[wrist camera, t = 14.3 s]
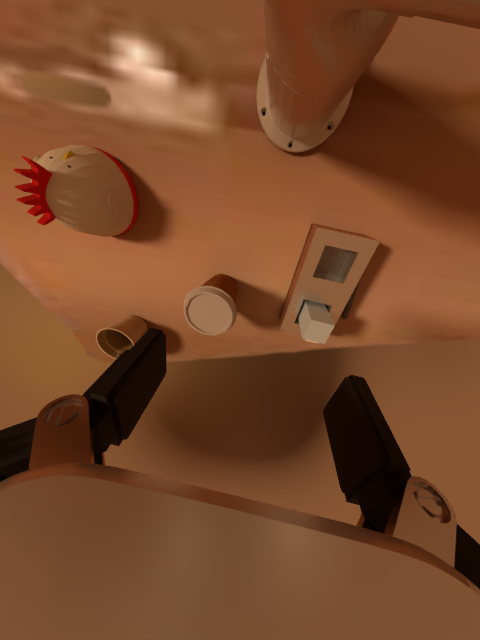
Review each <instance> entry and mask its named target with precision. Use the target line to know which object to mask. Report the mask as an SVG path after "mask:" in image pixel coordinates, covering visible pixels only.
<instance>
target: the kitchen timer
mask: <svg viewBox="0 0 480 640" xmlns="http://www.w3.org/2000/svg"><path fill="white" fill-rule="evenodd" d="M22 157H23V158H24V159H25V160H26V161H27V162H28V163H29V164H30V165H31V169H30V170H28V169H13V170H14V171H15V172H17V173H20V174H22V175H24V176H26V177H28V178H31V183H28V184H22V185H18V186H15V188H17V189H19V190H21V191H24V192H30V193H33V195H30V196H25V197H22V198H18V199H17V201H20V202H22V203H24V204H28V205H35V206H34V207H32V208H31V209H30V210H28V211H27V213H29V214H32V215H34V216H38V215H40V214H43V213H44V215H43V216H42V217H41V218H40V219H39V220H38V221H37V222H38V223H40V224H42V225H46V224H48V223H50V222H51V221H53V220H54V219H55V220H57V221H58V222H60V223H61V224H63V225H65V226H67V227H69V228H72V229H74V230H76V231H79V232H83V233H88V234H93V235H99V236H114V235H119V234H123V233H125V232H127V231H128V230H130V229H131V228H132V226H133V225H134V223H135V222H136V219H137V215H138V197H137V193H136V189H135V186H134V184H133V182H132V180H131V178H130V176H129V174H128V173H127V172H126V170H125V169H124V167H123V166H122V165H121V164H120V163H119V162H118V161H117V160H116V159H115V158H114V157H112V156H111V155H110V154H108V153H106V152H104V151H102V150H100V149H98V148H94V147H89V146H82V145H70V146H66V147H62V148H59V149H55V150H52V151H49V152H47V153H45V154H44V155H43V156H36V157H35V158H34V160H33V161H32V160H30V159H28V158H26V157H24V156H22Z"/></svg>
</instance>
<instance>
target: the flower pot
mask: <svg viewBox="0 0 480 640" xmlns="http://www.w3.org/2000/svg"><path fill="white" fill-rule="evenodd" d="M147 330H148V329H147V324H146V322H145V321H144V320H143V319H141V318H140V317H137V316H128V317H127V318H125V319H123V320H121V321H120V322H118V323H116V324H114V325H113V326H109V327H107V328H102V329H100V330H99V331H98V332H97V334H96V341H97V344H98V346H99V347H100V349H101V350H102V351H103V352H104V353H106V354H107V355H108V356H110V357H112V358H114V359H117V358H118V357H119V356H120V355H121V354H122V353H123V352H124V351H125V350H130V349H131V348H132V347H133V346H134V345H135V343H136V342H137V341H138V340H139V339H140V338H141V337H142V336H143V335H144V334H145V333H146V332H147Z"/></svg>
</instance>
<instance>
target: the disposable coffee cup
mask: <svg viewBox="0 0 480 640" xmlns="http://www.w3.org/2000/svg"><path fill="white" fill-rule="evenodd" d="M236 290H237V288H236V284H235V282H234V280H233V279H232V278H231V277H229V276H227V275H224V274H218V275H215V276H213V277H212V278H211V279H210V280H208V281H207V282H206V283H204V284H203V285H202V286H200V287H197V288H195V289H193V290H191V291H190V292H189V293H188V294H187V296H186V298H185V300H184V315H185V318H186V320H187V322H188V324H189V325H190V326H191V327H192V328H193V329H195V330H196V331H198V332H200V333H202V334H205V335H219V334H221V333H224V332H225V331H227V330H228V329H230V328H231V327H232V325H233V324H234V322H235V320H236V316H237V311H236V306H235V303H236Z"/></svg>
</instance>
